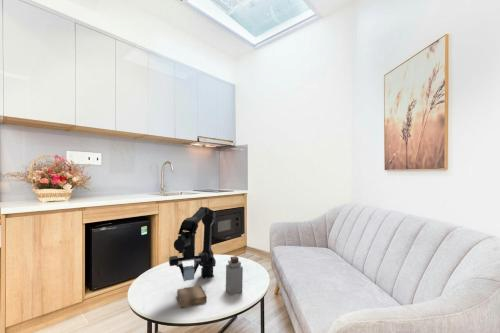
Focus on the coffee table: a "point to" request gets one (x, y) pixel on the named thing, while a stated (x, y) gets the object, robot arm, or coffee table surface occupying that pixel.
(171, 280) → the coffee table surface
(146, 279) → the coffee table surface
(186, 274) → the slate block
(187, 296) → the walnut plinth
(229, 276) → the perfume bottle
